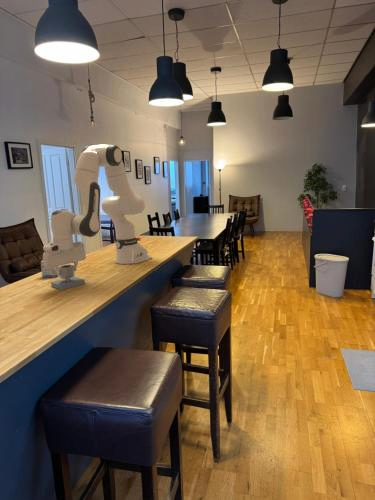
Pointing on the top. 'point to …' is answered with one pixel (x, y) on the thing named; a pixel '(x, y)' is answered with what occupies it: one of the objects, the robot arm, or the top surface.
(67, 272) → the tube
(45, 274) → the medicine box
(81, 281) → the shaft block
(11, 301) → the top surface
